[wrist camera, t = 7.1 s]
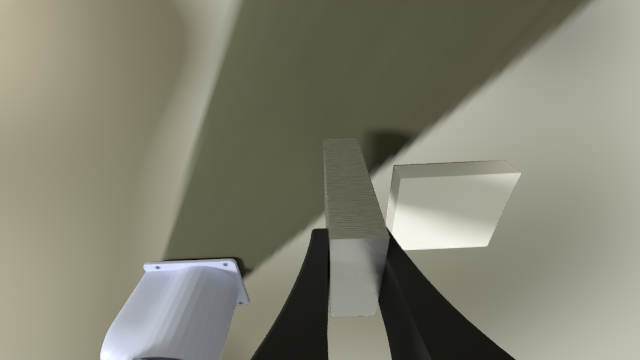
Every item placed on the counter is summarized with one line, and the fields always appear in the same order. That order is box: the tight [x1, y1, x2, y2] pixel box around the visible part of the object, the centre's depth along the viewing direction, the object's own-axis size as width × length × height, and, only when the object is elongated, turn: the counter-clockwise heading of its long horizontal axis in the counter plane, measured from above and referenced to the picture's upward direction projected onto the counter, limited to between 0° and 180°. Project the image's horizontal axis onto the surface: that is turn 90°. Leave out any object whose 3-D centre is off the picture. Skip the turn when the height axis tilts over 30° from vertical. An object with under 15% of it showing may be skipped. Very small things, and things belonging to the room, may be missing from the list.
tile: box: [386, 160, 521, 250], centre depth 22 cm, size 2×8×9 cm
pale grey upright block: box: [324, 138, 390, 317], centre depth 13 cm, size 2×5×8 cm, turn 1°
